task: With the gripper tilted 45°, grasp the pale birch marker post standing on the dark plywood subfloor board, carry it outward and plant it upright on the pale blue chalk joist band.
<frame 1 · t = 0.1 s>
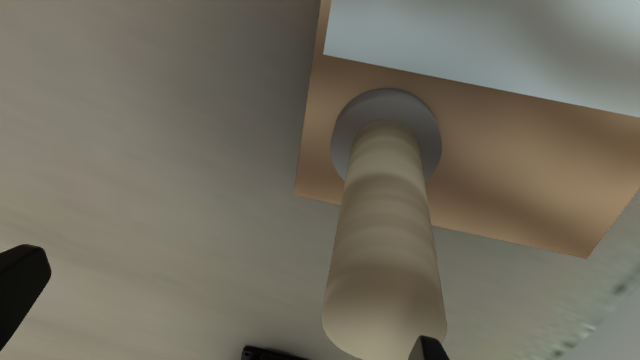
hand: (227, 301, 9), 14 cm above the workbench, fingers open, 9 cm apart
marker post: (384, 138, 20), point 1 cm above the workbench, touching subfloor board
subfloor board: (487, 85, 19), on the workbench
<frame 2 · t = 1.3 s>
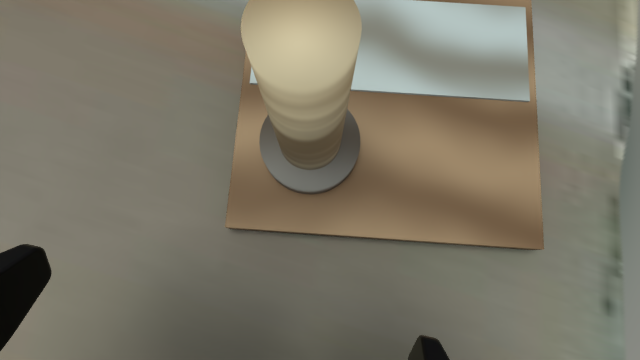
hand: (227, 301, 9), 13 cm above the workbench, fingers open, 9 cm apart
marker post: (310, 147, 22), point 1 cm above the workbench, touching subfloor board
subfloor board: (385, 105, 24), on the workbench
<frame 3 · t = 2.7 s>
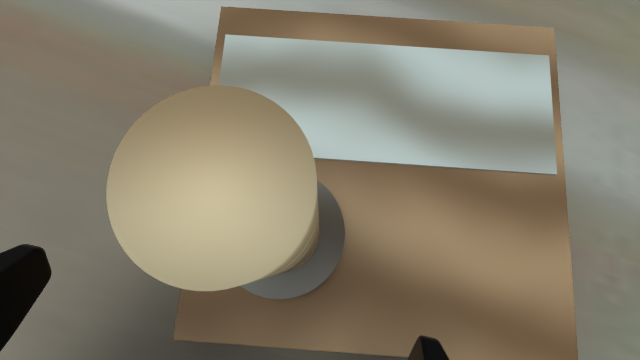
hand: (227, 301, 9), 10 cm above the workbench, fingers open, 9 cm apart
marker post: (283, 234, 18), point 1 cm above the workbench, touching subfloor board
subfloor board: (377, 174, 20), on the workbench
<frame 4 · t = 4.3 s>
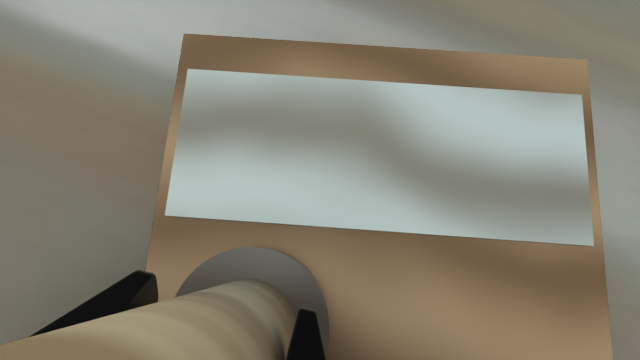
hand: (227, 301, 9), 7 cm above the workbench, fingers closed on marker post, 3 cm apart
marker post: (255, 322, 14), point 1 cm above the workbench, touching gripper, subfloor board
subfloor board: (372, 240, 16), on the workbench
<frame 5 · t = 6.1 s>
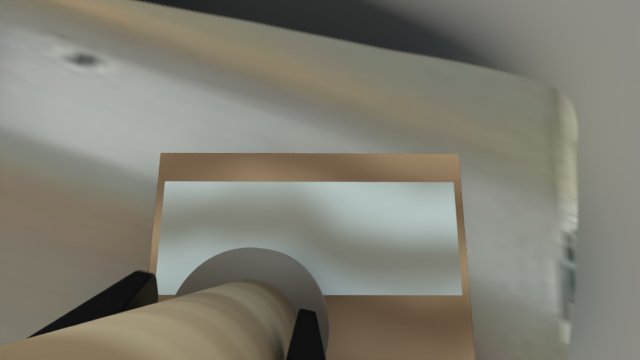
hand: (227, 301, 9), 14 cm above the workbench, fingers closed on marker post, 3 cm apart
marker post: (254, 323, 14), point 8 cm above the workbench, touching gripper
subfloor board: (309, 298, 22), on the workbench
when the fingers open (9 cm above the workbench, at t = 7.8 s): marker post drops 1 cm, resting on subfloor board.
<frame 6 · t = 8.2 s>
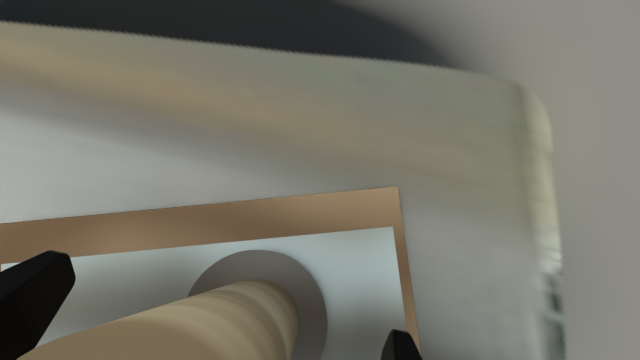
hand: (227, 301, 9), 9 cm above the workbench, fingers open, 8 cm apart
marker post: (259, 318, 16), point 1 cm above the workbench, touching subfloor board
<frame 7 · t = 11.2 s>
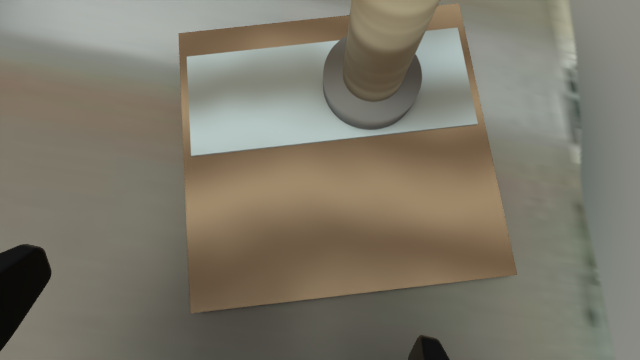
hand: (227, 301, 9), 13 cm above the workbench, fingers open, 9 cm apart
marker post: (369, 85, 23), point 1 cm above the workbench, touching subfloor board
subfloor board: (335, 151, 24), on the workbench
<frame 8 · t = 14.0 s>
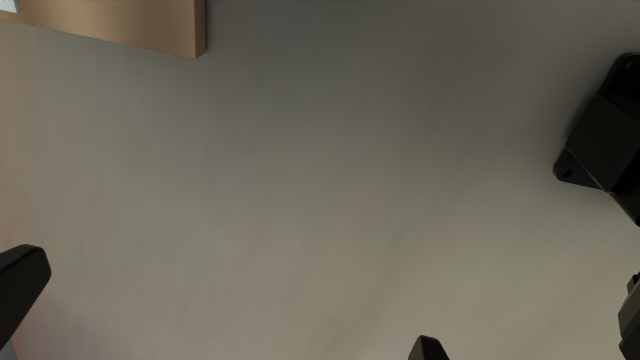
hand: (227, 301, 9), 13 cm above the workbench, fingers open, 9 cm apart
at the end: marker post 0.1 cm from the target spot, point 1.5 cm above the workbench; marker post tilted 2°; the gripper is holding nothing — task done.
